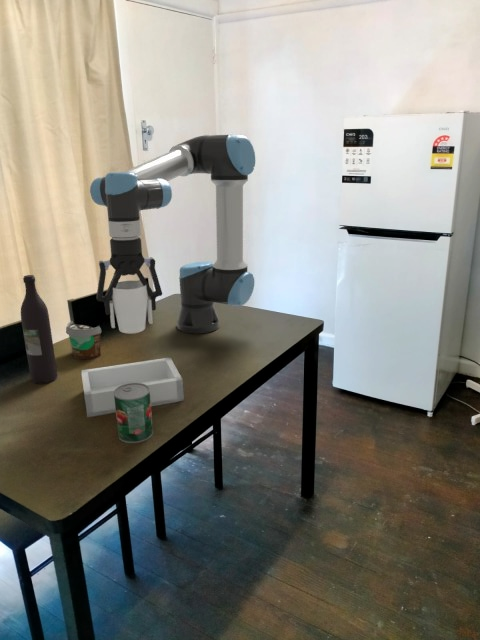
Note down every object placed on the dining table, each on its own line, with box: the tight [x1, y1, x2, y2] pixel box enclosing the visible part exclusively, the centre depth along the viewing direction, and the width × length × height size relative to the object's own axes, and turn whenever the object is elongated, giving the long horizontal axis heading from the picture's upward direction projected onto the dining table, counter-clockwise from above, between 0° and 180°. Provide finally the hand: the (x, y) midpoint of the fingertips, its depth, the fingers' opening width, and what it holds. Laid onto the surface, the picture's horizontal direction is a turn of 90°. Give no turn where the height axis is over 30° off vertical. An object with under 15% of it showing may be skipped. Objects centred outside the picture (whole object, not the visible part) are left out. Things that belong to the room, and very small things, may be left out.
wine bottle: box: [20, 274, 58, 385], centre depth 139 cm, size 7×7×30 cm
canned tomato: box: [114, 383, 154, 444], centre depth 115 cm, size 8×8×11 cm
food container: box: [65, 320, 102, 360], centre depth 158 cm, size 12×6×10 cm, turn 62°
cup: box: [111, 280, 149, 334], centre depth 131 cm, size 9×9×12 cm
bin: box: [80, 357, 185, 418], centre depth 133 cm, size 24×15×6 cm, turn 109°
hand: (131, 324), depth 132 cm, fingers closed on cup, 9 cm apart
